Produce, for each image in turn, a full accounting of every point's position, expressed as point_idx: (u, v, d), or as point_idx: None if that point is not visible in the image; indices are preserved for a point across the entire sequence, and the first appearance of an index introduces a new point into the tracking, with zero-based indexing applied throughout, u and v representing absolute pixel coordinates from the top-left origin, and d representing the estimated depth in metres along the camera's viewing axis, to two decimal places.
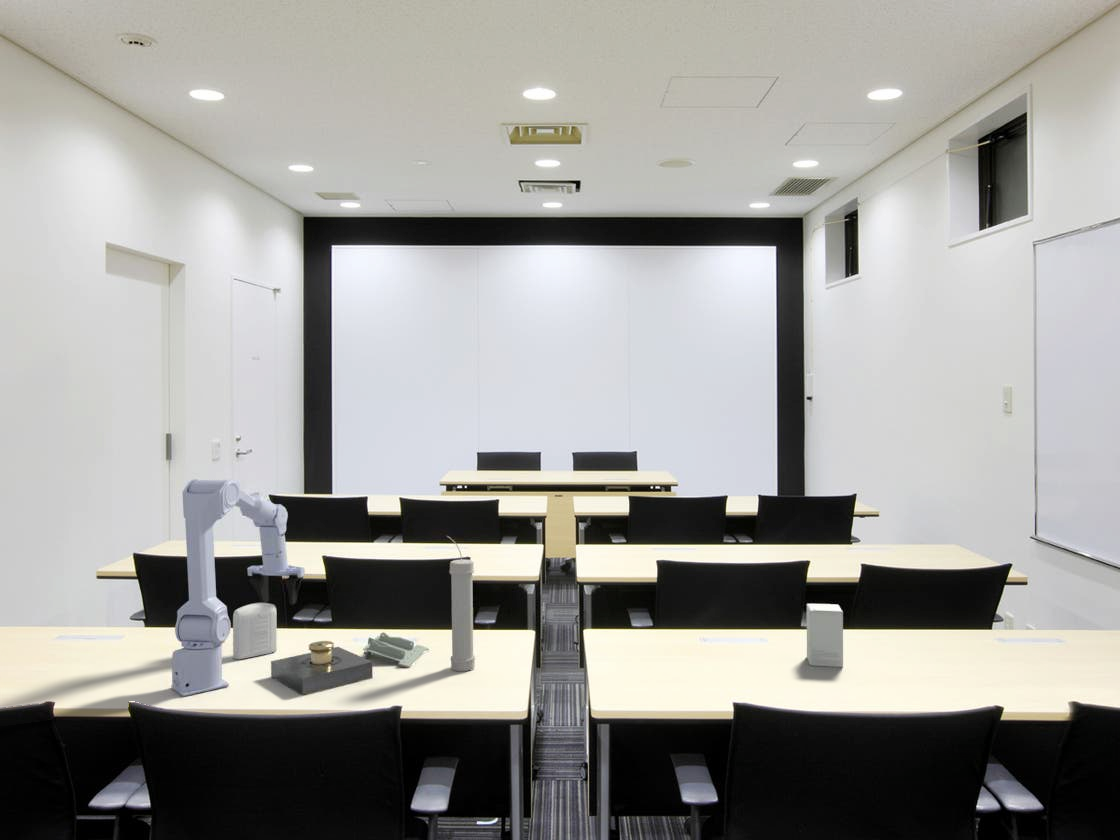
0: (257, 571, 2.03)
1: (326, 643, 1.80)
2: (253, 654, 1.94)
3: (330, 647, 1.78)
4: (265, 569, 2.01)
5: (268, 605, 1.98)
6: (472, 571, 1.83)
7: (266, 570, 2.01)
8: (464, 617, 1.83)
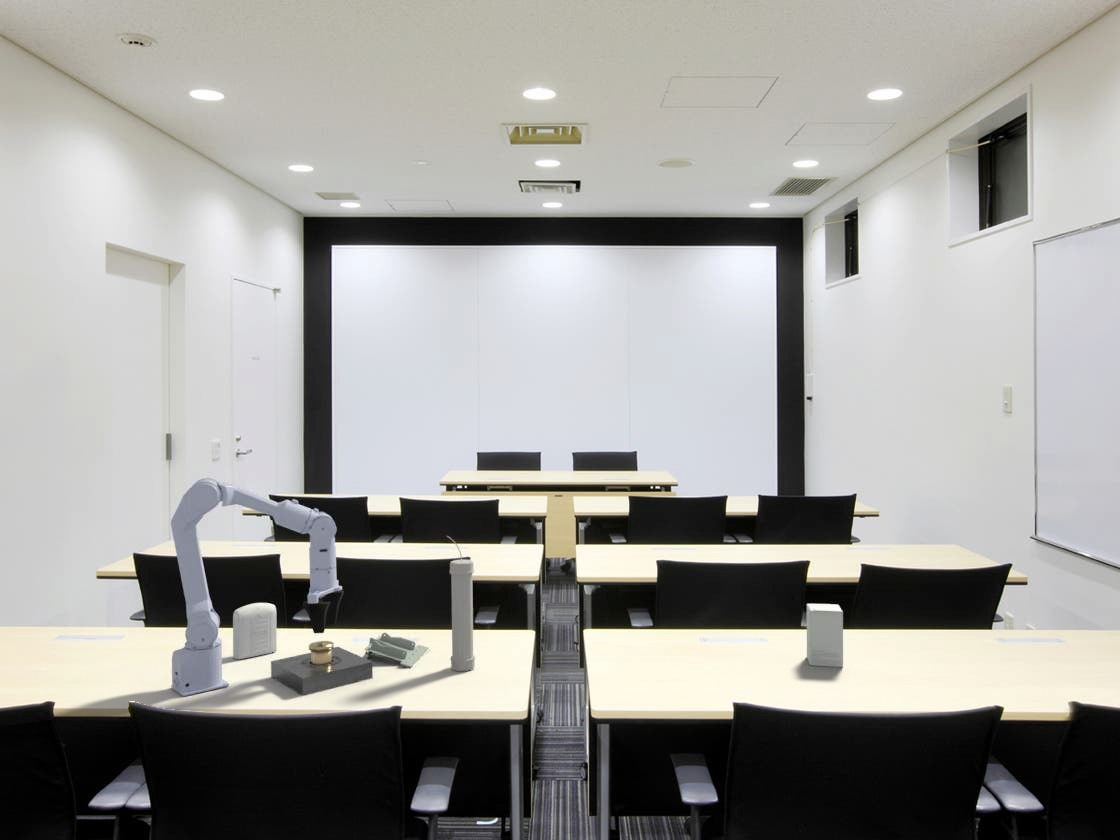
0: None
1: (326, 643, 1.80)
2: (253, 654, 1.94)
3: (330, 647, 1.78)
4: None
5: (268, 605, 1.98)
6: (472, 571, 1.83)
7: None
8: (464, 617, 1.83)
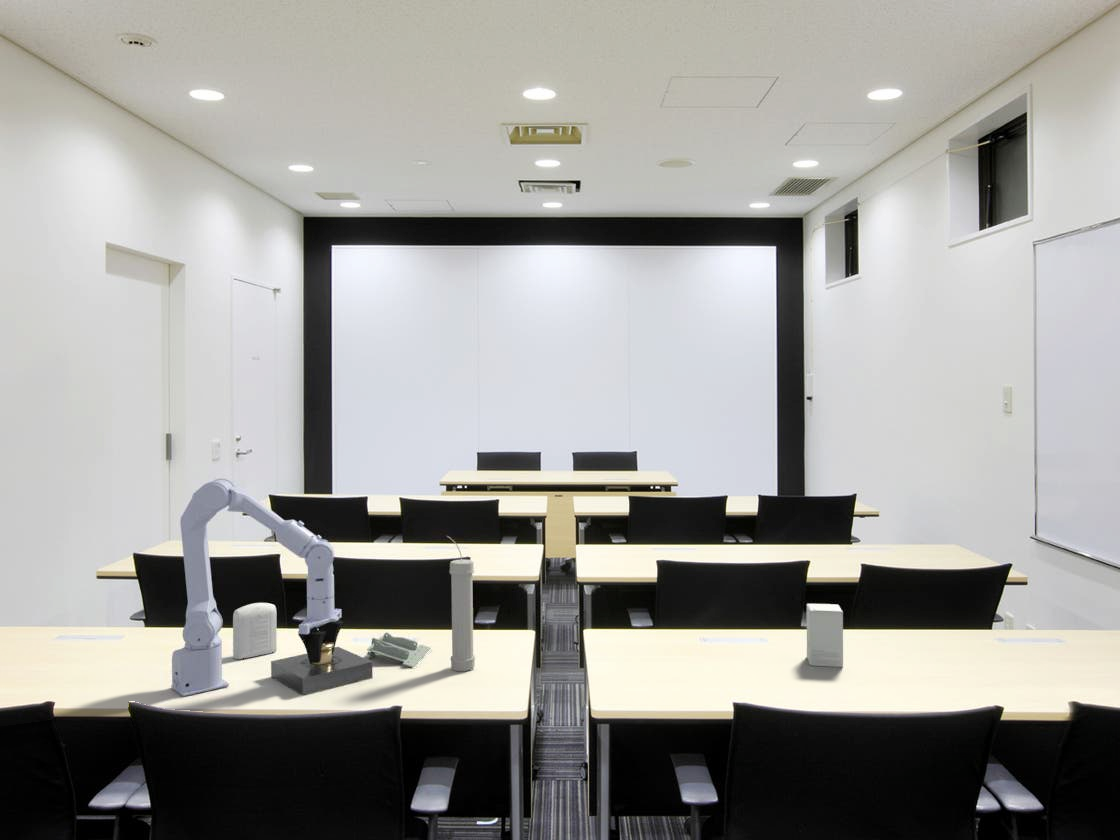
0: None
1: (326, 643, 1.80)
2: (253, 654, 1.94)
3: (330, 647, 1.78)
4: None
5: (268, 605, 1.98)
6: (472, 571, 1.83)
7: None
8: (464, 617, 1.83)
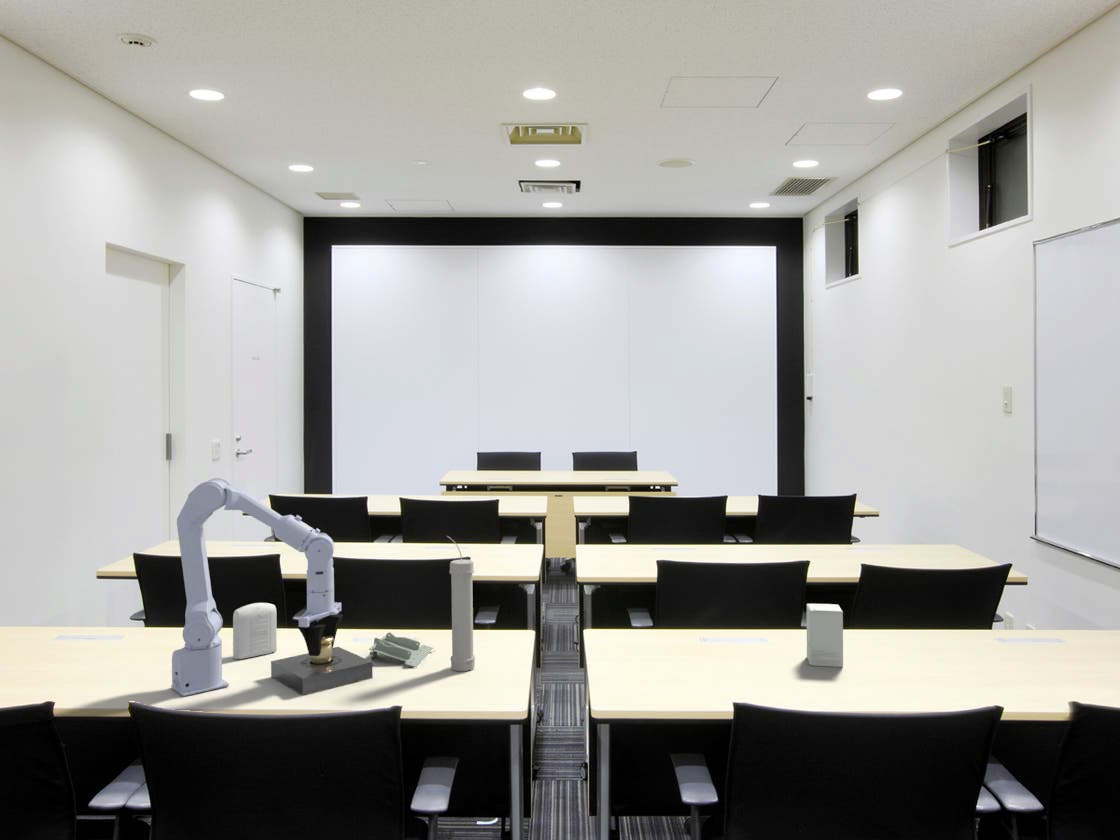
0: None
1: (326, 637, 1.80)
2: (253, 654, 1.94)
3: (330, 641, 1.78)
4: None
5: (268, 605, 1.98)
6: (472, 571, 1.83)
7: None
8: (464, 617, 1.83)
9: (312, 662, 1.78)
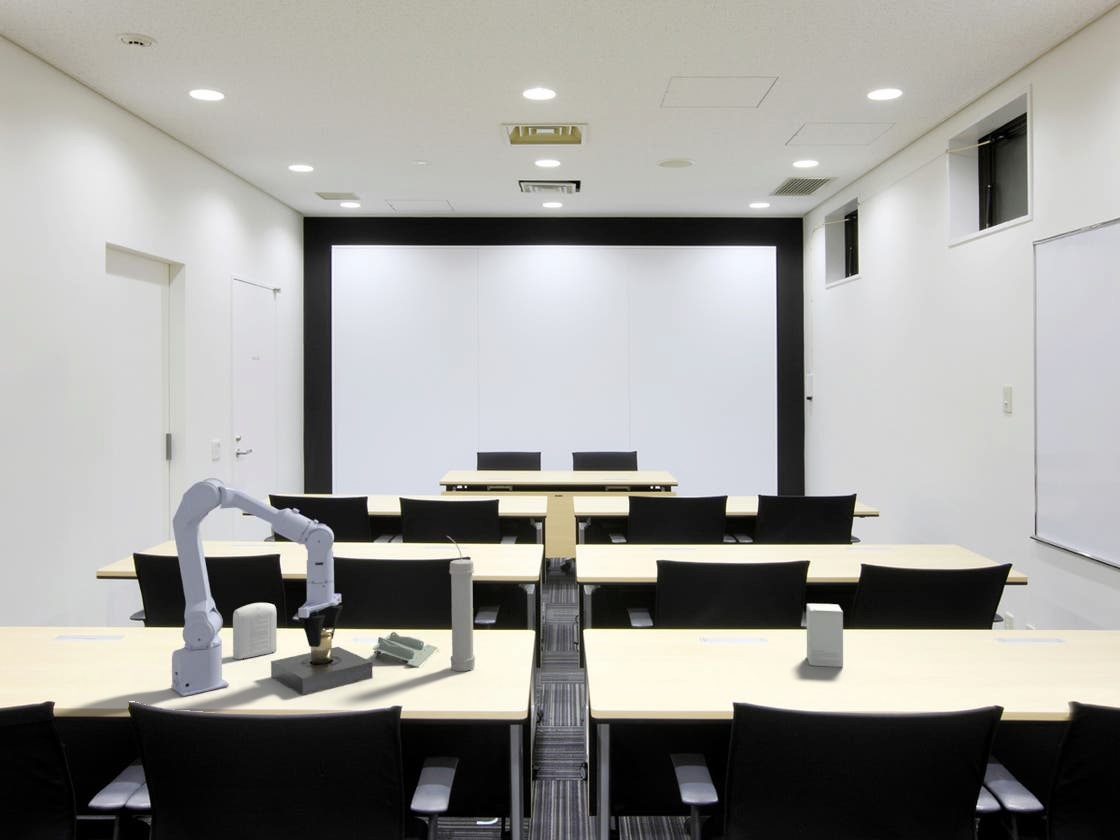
0: None
1: (326, 628, 1.80)
2: (253, 654, 1.94)
3: (330, 632, 1.78)
4: None
5: (268, 605, 1.98)
6: (472, 571, 1.83)
7: None
8: (464, 617, 1.83)
9: (312, 653, 1.78)
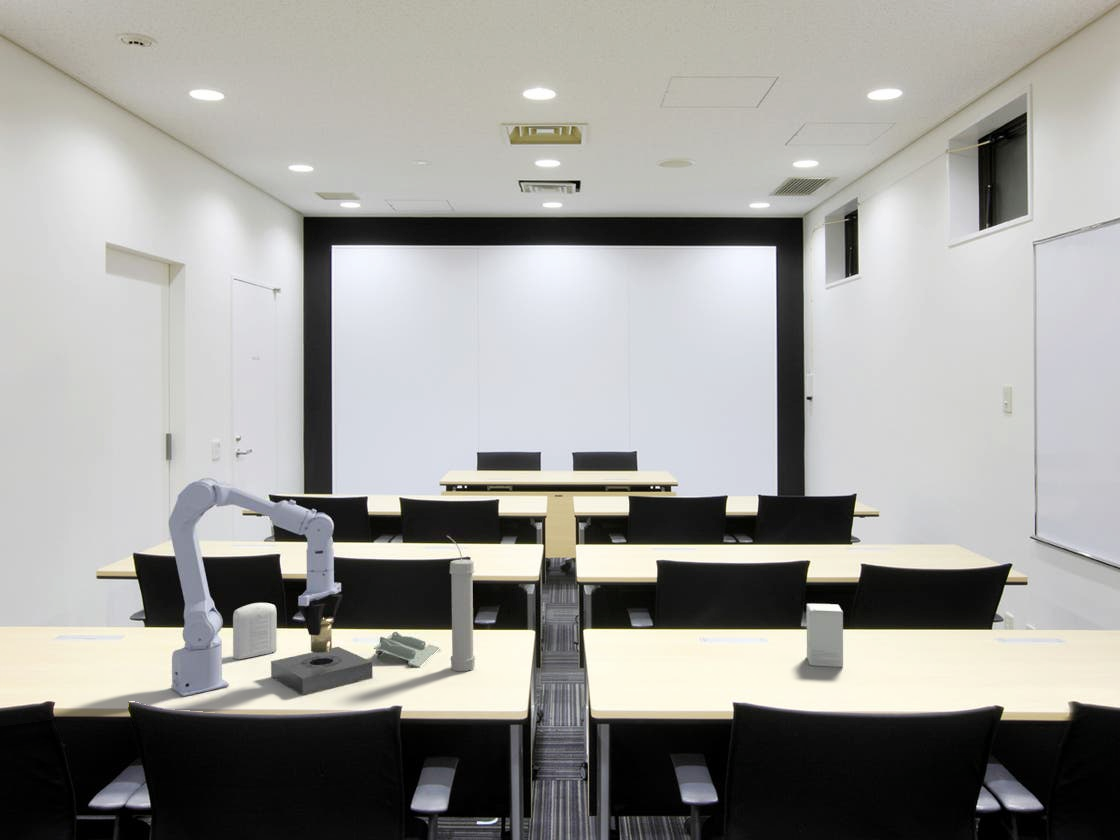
0: None
1: (326, 618, 1.80)
2: (253, 654, 1.94)
3: (330, 621, 1.78)
4: None
5: (268, 605, 1.98)
6: (472, 571, 1.83)
7: None
8: (464, 617, 1.83)
9: (312, 643, 1.78)
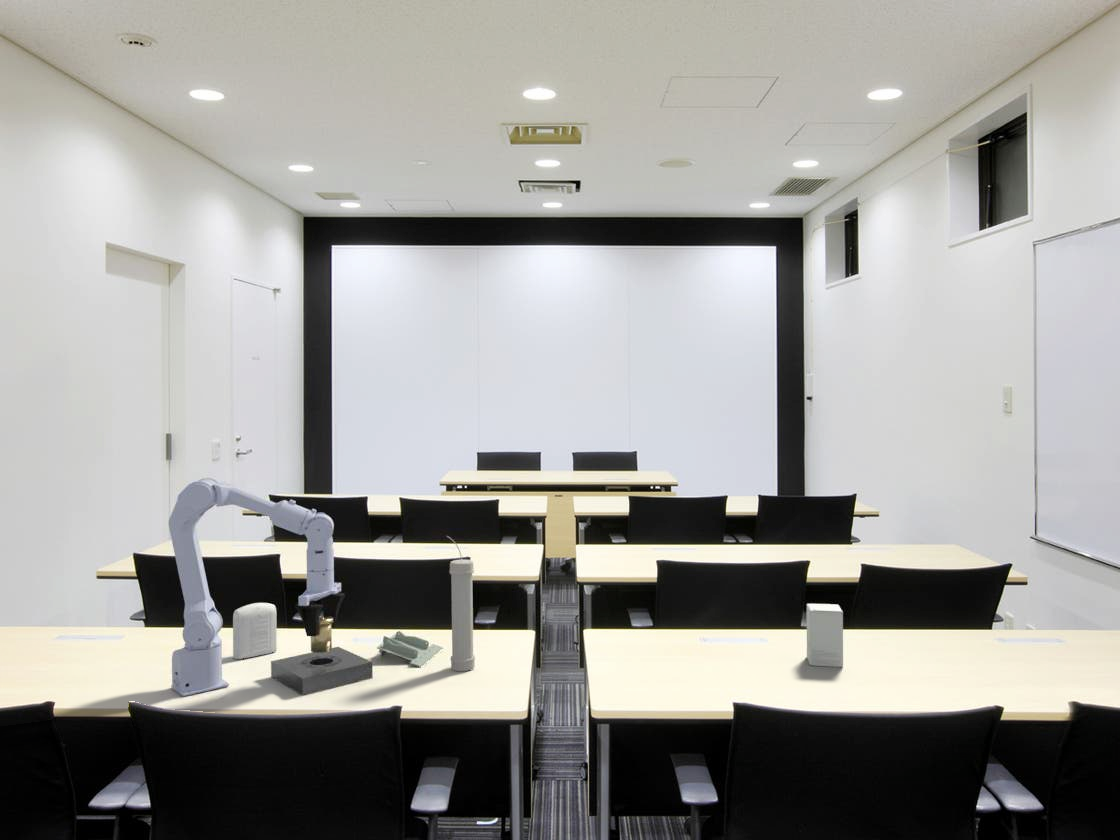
0: None
1: (326, 618, 1.80)
2: (253, 654, 1.94)
3: (330, 621, 1.78)
4: None
5: (268, 605, 1.98)
6: (472, 571, 1.83)
7: None
8: (464, 617, 1.83)
9: (312, 643, 1.78)
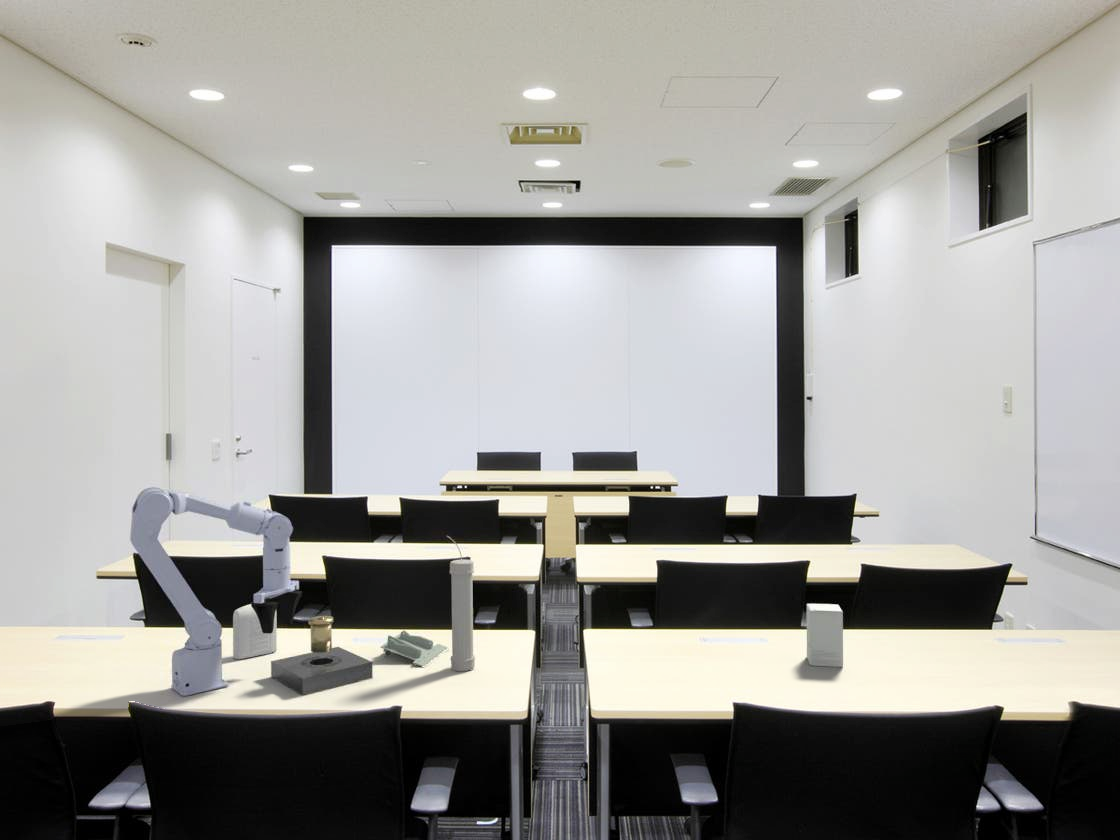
0: None
1: (326, 618, 1.80)
2: (253, 654, 1.94)
3: (330, 621, 1.78)
4: None
5: None
6: (472, 571, 1.83)
7: None
8: (464, 617, 1.83)
9: (312, 643, 1.78)
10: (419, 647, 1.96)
